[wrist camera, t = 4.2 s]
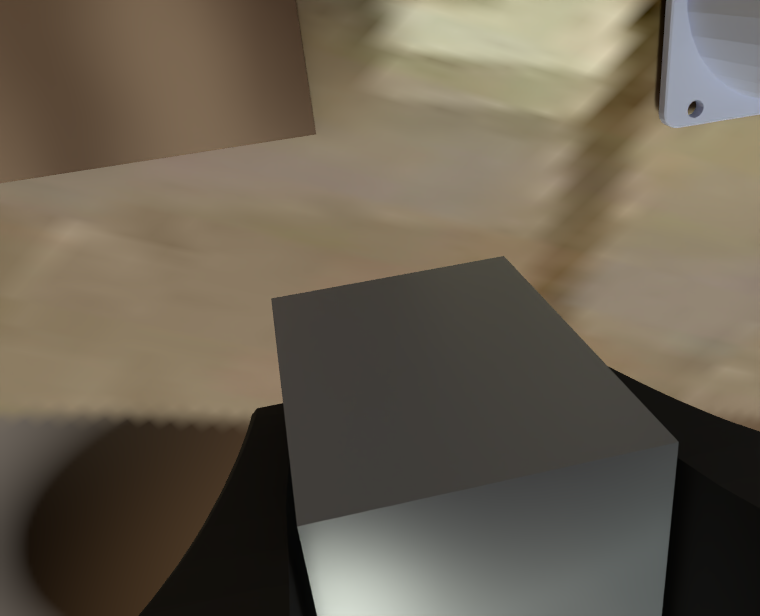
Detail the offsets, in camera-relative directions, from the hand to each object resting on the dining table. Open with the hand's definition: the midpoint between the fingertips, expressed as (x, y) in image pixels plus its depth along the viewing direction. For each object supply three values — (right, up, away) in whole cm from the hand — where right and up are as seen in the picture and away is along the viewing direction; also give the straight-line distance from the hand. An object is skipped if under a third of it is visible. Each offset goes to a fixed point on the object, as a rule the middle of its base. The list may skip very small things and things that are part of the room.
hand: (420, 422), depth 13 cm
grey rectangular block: (0, +1, +1) cm, 2 cm away
